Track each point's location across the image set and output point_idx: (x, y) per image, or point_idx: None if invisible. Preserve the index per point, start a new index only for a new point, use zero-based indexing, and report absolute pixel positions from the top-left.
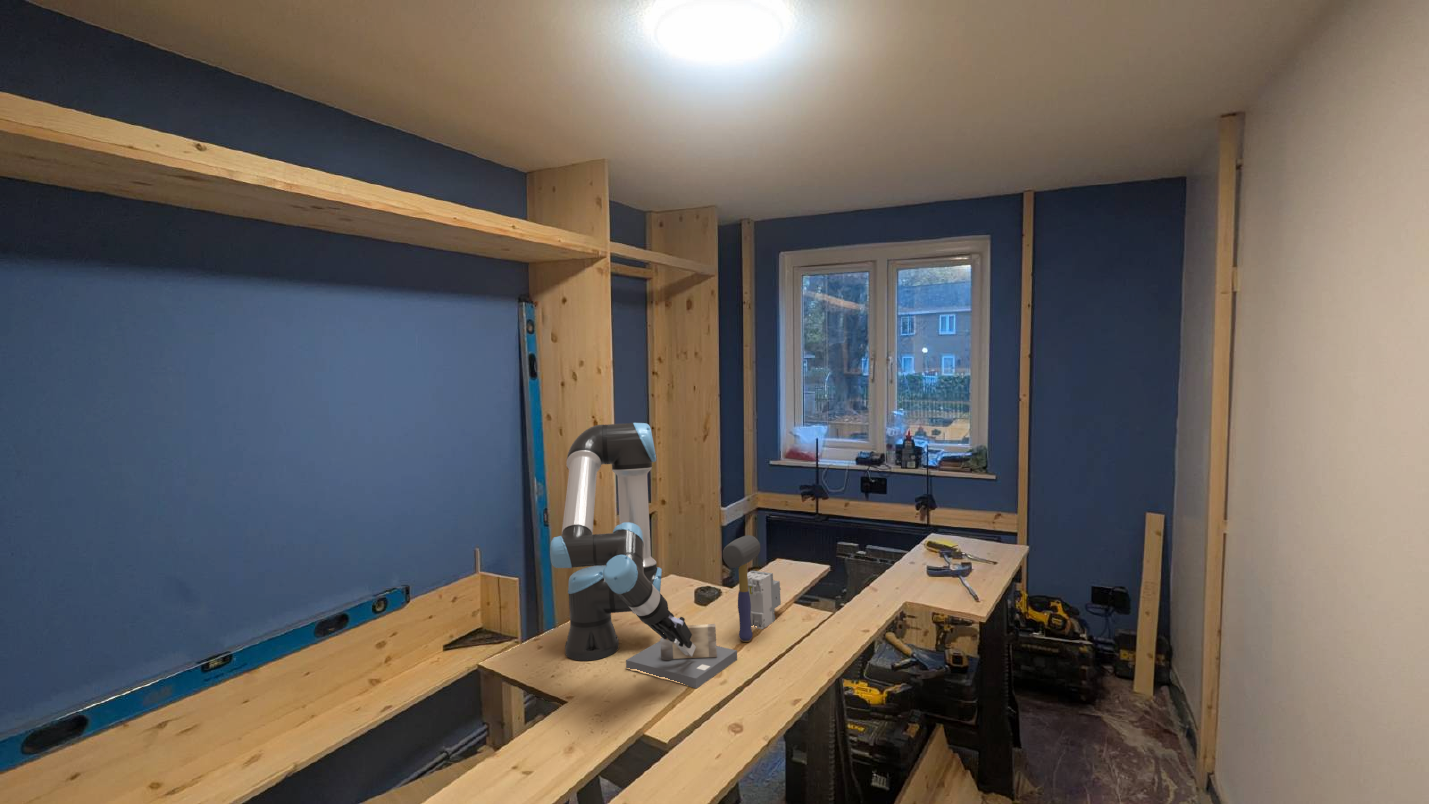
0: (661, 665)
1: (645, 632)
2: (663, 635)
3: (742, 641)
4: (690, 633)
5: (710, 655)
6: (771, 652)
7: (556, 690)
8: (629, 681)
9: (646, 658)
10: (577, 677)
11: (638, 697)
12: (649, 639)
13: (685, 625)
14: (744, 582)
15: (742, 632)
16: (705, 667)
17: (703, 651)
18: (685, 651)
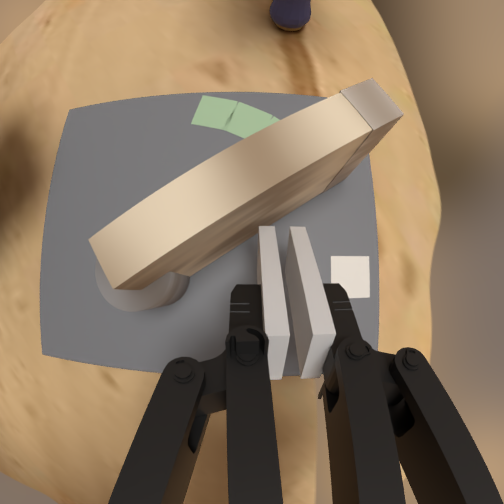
0: (180, 346)
1: (5, 116)
2: (202, 439)
3: (286, 29)
4: (436, 385)
5: (329, 187)
6: (389, 62)
7: (36, 488)
8: (125, 418)
9: (87, 314)
10: (12, 428)
11: (227, 482)
12: (22, 138)
13: (489, 491)
14: None
15: (293, 12)
16: (358, 273)
17: (310, 196)
18: (290, 303)
